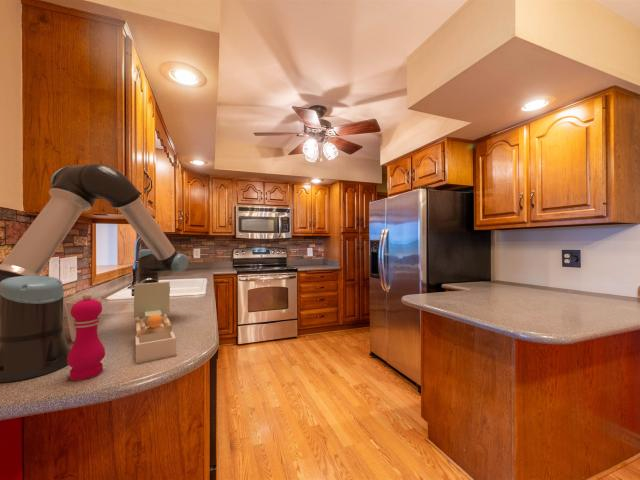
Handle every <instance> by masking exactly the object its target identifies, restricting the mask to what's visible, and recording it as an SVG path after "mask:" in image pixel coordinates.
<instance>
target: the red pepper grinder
mask: <svg viewBox="0 0 640 480" xmlns="http://www.w3.org/2000/svg"><path fill="white" fill-rule="evenodd" d="M91 299H94V300H97V301H99V302H100V303H101V305H102V306H103V304H102V303H103V299H102V298H101V297H91ZM81 300H83V298H82V297H81V298H74V299H70V300H67V301H65V303H64V308H65V311H66V316H67V323H68V327H69V335H70V339H71V342H72V343H74V341H75V338H76V328H75V327H73V325H74V323H73V322H74V321H75V319H74V318H73V317H72V316H71V308H72V306H73V305H74V304H75V303H76V302H78V301H81ZM98 317H99V318H100V315H99V316H98ZM98 327H99V324H98V325H97V329H98Z"/></svg>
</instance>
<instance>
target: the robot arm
mask: <svg viewBox="0 0 640 480" xmlns="http://www.w3.org/2000/svg"><path fill="white" fill-rule="evenodd" d="M50 184H51V187H50V189H49V190H48V195H49V196H50V199H49V201H48V202H47V203H46V204H45V205H44V206H43V208H42V210H41V211H40V212H39V214H38V215H37V216H36V217H35V219H34V220H33V221H32V223H30V225H29V226H28V228H27V230H26V231H25V232H24V233H23V235H22V236H21V237H20V238H19V240H18V241H17V242H16V244H15V245H14V246H13V247H12V249H10V252H9V253H8V254H7V256H6V257H4V260H2V262H1V263H0V383H7V382H8V383H9V382H10V383H11V382H17V381H23V380H27V379H32V378H36V377H39V376H43V375H47V374H50V373H53V372H55V371H58V370H60V369H63V368H64V367H66V366H67V365H68V363H67V358H68V354H69V351H70V350H71V347H70V345H69V344H68V341H67V339H66V337H65V335H64V295H65V292H64V291H65V290H64V285H63V281H61V280H60V279H59V278H57V277H53V276H47V275H46V276H45V275H43V276H41V274H42V272H43V271H44V269H45V268H46V266H47V265H48V264H49V262H50V260H51V259H52V258H53V256H54V254H55V253H56V251H57V250H58V248H59V247H60V246H61V244H62V243H63V241H64V240H65V238H66V236H67V235H68V234H69V232H70V231H71V230H72V228H73V227H74V225H75V223H76V222H77V220H78V219H79V217H80V216H81V215H82V213H83V212H87V211H88V212H89V211H90V210H91V209H92V208H93V206H94V205H95V203H96V202H97V201H98V200H104V201H106V202H108V203H109V205H110V206H111V207H112V208H113V209H116V210H118V211H119V212H120V213H121V214H122V216H123V217H124V218H125V220H126V221H127V222H128V224H129V225H130V227H132V229H133V230H134V231H135V233H136V234H137V235H138V236H139V238H140V239H141V240H142V242H143V243H144V244H145V246H146V247H147V248H148V249H147V248H146V249H144V248H143V249H139V251H138V258H137V263H138V265H137V268H138V278H137V279H138V280H137V284H143V283H157V282H159V272H168V273H169V272H170V273H181V272H184V271H185V270H187V268H188V266H189V258H188V256H187V255H186V254H183V253H178V251H177V250H176V249H175V247H174V245H173V244H172V243H171V241H170V240H169V238H168V237H167V236H166V234H165V233H164V232H163V230H162V228H161V227H160V225H159V224H158V223H157V221H156V220H155V218H154V217H153V216H152V214H151V212H150V211H149V210H148V208H147V206H146V205H145V204H144V203H143V201H142V200H141V199H140V198H141V196H142V195H141V193H140V191H139V190H138V189H137V188H136V186H135V185H134V184H133V183H132V181H131V180H130V179H129V178H128V177H127V176H126V175H125V174H124V173H123V172H121V171H120V170H118V169H117V168H115V167H113V166H111V165H108V164H105V163H98V162H97V163H91V164H90V163H89V164H80V165H68V166H65V167H62V168H59V169H58V170H56V171H55V172H54V173H53V174H52V176H51V178H50ZM131 297H134V288H131Z"/></svg>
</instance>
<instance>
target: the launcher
mask: <svg viewBox="0 0 640 480" xmlns="http://www.w3.org/2000/svg"><path fill="white" fill-rule="evenodd" d="M168 317H169V316H168V315H167V314H162V323H161V325H160V326H158V327H156V328H151V327H149V326H148V325H145V320H144V316H143V317H135V330H136V335H137V336H140V335H146V334H153V333H159V332H165V331H171V330H172V331H173V325H172V323H171V322H170V319H169V318H168Z"/></svg>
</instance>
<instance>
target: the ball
mask: <svg viewBox="0 0 640 480" xmlns="http://www.w3.org/2000/svg"><path fill="white" fill-rule="evenodd" d="M161 323H162V317H161V316H160V315H158V314H153V315H151V316H149V317H148V319H147V325H148V326H149V327H151V328H156V327H158V326H160V325H161Z"/></svg>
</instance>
